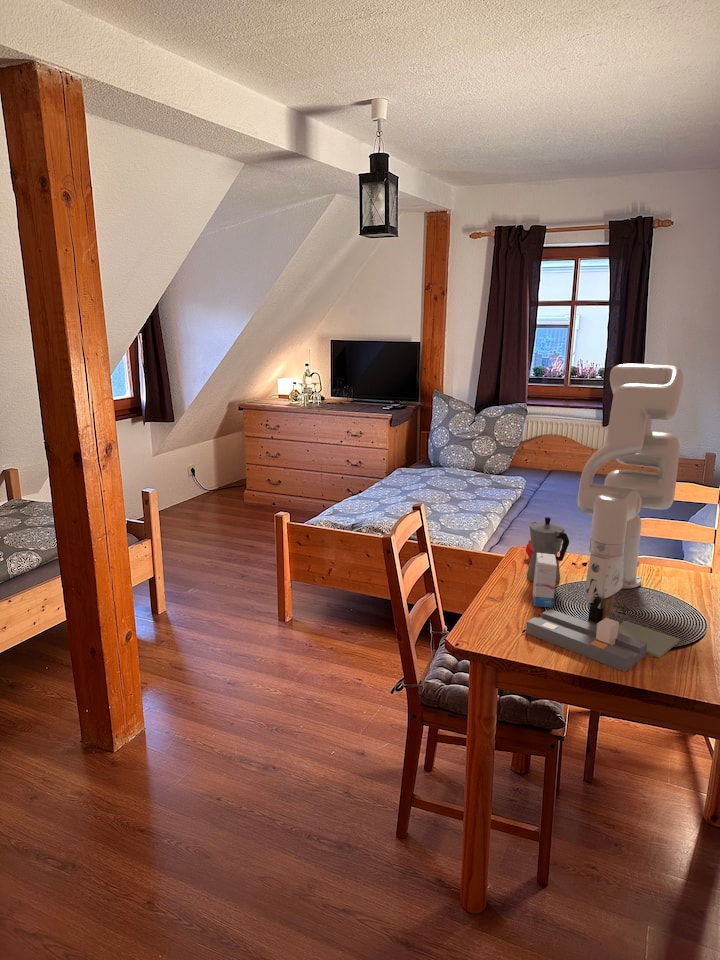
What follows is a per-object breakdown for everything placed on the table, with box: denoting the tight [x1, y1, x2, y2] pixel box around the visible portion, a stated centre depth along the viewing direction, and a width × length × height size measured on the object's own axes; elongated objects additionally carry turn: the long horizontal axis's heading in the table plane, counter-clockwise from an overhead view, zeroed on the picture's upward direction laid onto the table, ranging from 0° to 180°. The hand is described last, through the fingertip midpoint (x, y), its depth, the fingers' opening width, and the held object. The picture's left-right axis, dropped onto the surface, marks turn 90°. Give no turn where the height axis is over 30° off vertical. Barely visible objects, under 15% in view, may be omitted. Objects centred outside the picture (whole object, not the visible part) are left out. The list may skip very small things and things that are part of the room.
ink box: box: [532, 553, 557, 609], centre depth 174 cm, size 9×5×12 cm, turn 168°
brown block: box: [587, 592, 615, 625], centre depth 160 cm, size 4×4×12 cm
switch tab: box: [596, 618, 620, 646], centre depth 148 cm, size 4×3×5 cm
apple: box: [525, 539, 533, 560], centre depth 203 cm, size 7×7×8 cm
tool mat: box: [618, 620, 681, 659], centre depth 155 cm, size 11×13×1 cm
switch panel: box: [525, 608, 647, 673], centre depth 152 cm, size 10×24×3 cm, turn 44°
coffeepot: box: [526, 516, 570, 584], centre depth 187 cm, size 15×9×18 cm, turn 24°
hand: (599, 618), depth 161 cm, fingers closed on brown block, 3 cm apart
